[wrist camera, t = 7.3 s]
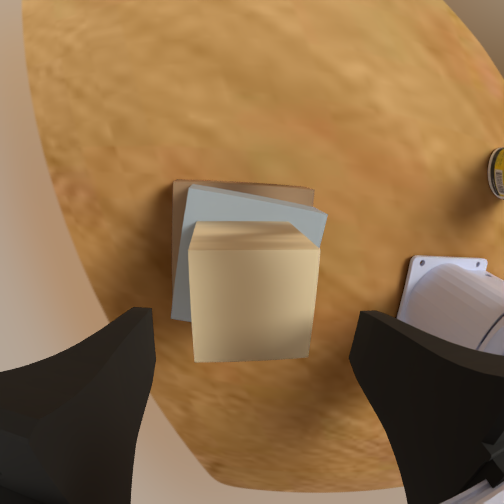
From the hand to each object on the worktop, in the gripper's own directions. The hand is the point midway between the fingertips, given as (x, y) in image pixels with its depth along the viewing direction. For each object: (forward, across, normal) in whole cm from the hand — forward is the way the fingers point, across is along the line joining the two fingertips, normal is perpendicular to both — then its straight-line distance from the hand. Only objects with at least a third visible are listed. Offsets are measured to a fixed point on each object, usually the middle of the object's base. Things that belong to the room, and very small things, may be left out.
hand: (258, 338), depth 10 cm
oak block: (+6, 0, 0) cm, 6 cm away
